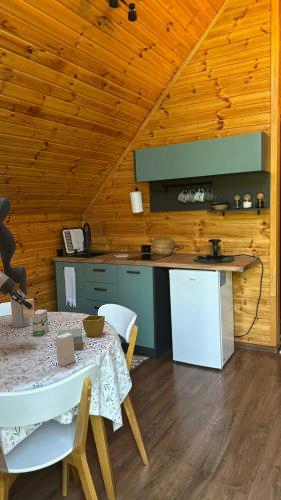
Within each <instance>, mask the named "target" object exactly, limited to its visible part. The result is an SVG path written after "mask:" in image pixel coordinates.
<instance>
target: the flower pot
mask: <svg viewBox="0 0 281 500" xmlns="http://www.w3.org/2000/svg"><path fill="white" fill-rule="evenodd" d="M105 317H106V316H105V315H94V314H89V315H88V316H86V317H85V318H83V319H81V322H82V326H83V330H84V332H85V334H86V335H87V336H88V337H96V338H97V337H99V336H100V335H101V334H102V333H103V331H104V327H105V320H106V318H105Z"/></svg>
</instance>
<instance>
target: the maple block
mask: <svg viewBox="0 0 281 500" xmlns="http://www.w3.org/2000/svg"><path fill="white" fill-rule="evenodd" d="M25 300H26V301H28V302H29V303H30V304H31V305H32V308H31V309H28V308H27V307H26V306H24V305H23V314H24V319H25V318H29V319H32V318H34V317H35V311H36V310H35V299H34V298H28V299H25Z"/></svg>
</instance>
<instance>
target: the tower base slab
mask: <svg viewBox="0 0 281 500" xmlns="http://www.w3.org/2000/svg"><path fill="white" fill-rule="evenodd" d="M81 350H84V346H83V342H82V343H80V344H74V351H81Z"/></svg>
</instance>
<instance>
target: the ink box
mask: <svg viewBox="0 0 281 500" xmlns="http://www.w3.org/2000/svg"><path fill="white" fill-rule="evenodd" d="M48 318H49V316H48V309H36V310H35V317H34V318H31V321H32V333H33V334H32V335H33V337H42V336H44V335H45V334H47V333H48V332H49V331H50V330H49V319H48Z"/></svg>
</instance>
